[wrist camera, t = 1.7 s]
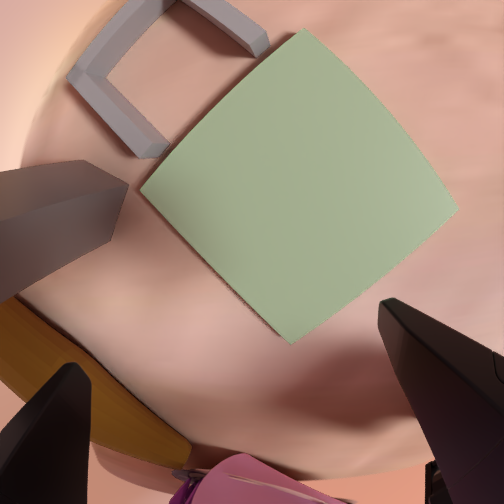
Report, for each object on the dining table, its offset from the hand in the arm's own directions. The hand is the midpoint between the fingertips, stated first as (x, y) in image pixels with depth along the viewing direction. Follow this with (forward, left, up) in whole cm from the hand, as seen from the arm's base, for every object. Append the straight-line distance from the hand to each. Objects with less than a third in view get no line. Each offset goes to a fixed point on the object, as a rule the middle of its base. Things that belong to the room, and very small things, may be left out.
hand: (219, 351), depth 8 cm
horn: (-15, +17, -12) cm, 25 cm away
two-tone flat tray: (+6, +2, -12) cm, 13 cm away
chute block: (+2, +12, -12) cm, 17 cm away
